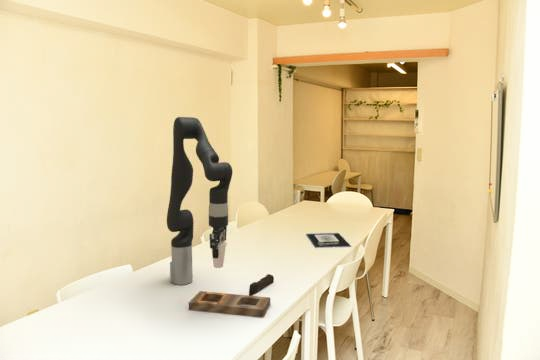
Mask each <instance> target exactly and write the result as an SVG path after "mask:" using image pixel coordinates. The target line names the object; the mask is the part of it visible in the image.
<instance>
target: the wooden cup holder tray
mask: <svg viewBox="0 0 540 360" xmlns="http://www.w3.org/2000/svg"><path fill="white" fill-rule="evenodd" d="M270 306H271V297H267V296H257V295H249V294H248V295H245V294H236V293H235V294H234V293H225V292H215V291H203V290H200V291H198V292H197V294H195V295H194V296H193V297H192V298H191V299H190V300H189V301H188V310H189V311H196V312H197V311H199V312H208V313H209V312H210V313H217V314H224V315H225V314H227V315H236V316H238V315H239V316H249V317H254V318H255V317H256V318H264V317H265V315H266V313H267V311H268V309H269V308H270Z"/></svg>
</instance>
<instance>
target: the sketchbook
mask: <svg viewBox="0 0 540 360" xmlns="http://www.w3.org/2000/svg"><path fill="white" fill-rule="evenodd" d="M305 236H306V237H307V239H308V240H309V241H310V243H311V245H312V247H314V249H325V248H326V249H330V248H331V249H332V248H333V247H335V248H351V247H352V245H351V244H350V243H349V242H348V241H347V240H346V239H345V238H344V236H342V235H341V234H340V233H339V232H318V233H317V232H314V233H312V232H310V233H308V232H307V233H305ZM335 248H334V249H335Z"/></svg>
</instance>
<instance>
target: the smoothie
mask: <svg viewBox="0 0 540 360" xmlns="http://www.w3.org/2000/svg"><path fill="white" fill-rule="evenodd" d="M227 244H228V243H227V242H226V241H221V243H219V248H218V249H219V257H218V258H213V249H211V256H212V264H213V268H215V269H221V268H223V267H224V263H225V262H224V261H225V255H226V249H227V248H226V247H227ZM214 246H215V243H214Z"/></svg>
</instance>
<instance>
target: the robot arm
mask: <svg viewBox="0 0 540 360" xmlns="http://www.w3.org/2000/svg"><path fill="white" fill-rule="evenodd" d="M172 128H173V129H172V135H173V136H172V142H173V143H172V147H173V149H172V150H173V152H172V165H171V177H170V191H169V192H170V194H169V195H170V196H169V201H168V207H167V214H166V226H167V229H168V231H170V232H171V233H177V232H178V233H177V234H176V236H174V237H173V238H171V240H170V241H171V242H170V244H171V247H170V248H171V261H170V263H169V273H170V274H169V275H170V277H169V278H170V281H169V282H170V284H174V285H178V286H185V285H188V284H191V283H192V282H193V281H194V280H193V277H194V275H193V239H194V223H195V221H194V215H193V213H192V212H191V210H189V209H185V208H184V209H181V208H182V203H183V200H184V199H185V197H186V196H187V194H188V193H189V191H190V189H191V187H192V185H193V178H194V168H193V165H192V162H191V161H190V159H189V157H188V155H187V153H186V151H185V145H184V140H196V142H197V143H196V146H195V154H196V156H197V158H198V160H199V161H200V163H201V164H202V168H203V172H204V177H205V178H206V179H207V180H208V181H209V182H219V183H218V184H217V185H215V186H212V187H211V188H210V189H209V194H208V195H209V197H208V199H209V200H208V201H209V205H208V226H209V227H211V228H212V231H211V233H209V249H211V250H212V249H213V257H212V259H213V258H218V257H219V249H218V248H219V243H221V241H225V242H226V240H227V230H228V229H227V228H228V226H229V202H228V199H229V198H228V197H229V196H228V192H229V189H230V185H231V181H232V179H233V178H232V177H233V168H232V165H231V164H230V163H229V162H220V156H219V155H218V153H217V151H216V150H215V149H214V148H213V145H212V144H211V143H210V141H209V139H208V137H207V133H206V132H205V129H204V126H203V125H202V123H201V121H200V119H198V118H197V117H191V116H190V117H188V116H187V117H186V116H177V117H176V118H175V120H174V121H173V126H172ZM214 243H215V246H214Z"/></svg>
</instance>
